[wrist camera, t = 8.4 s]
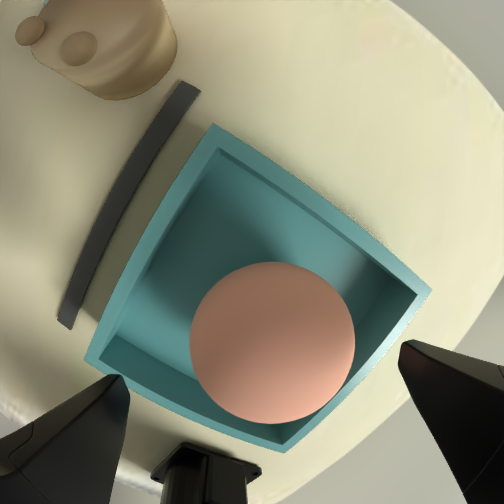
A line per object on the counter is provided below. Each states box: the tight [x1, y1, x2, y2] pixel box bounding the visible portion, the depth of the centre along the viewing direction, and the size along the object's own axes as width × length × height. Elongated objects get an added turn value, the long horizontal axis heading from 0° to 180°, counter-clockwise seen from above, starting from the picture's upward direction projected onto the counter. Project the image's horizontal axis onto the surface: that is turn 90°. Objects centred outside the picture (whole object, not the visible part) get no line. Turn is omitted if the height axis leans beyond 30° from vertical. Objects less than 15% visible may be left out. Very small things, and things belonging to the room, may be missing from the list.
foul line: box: [57, 81, 201, 330], centre depth 12 cm, size 14×1×1 cm, turn 146°
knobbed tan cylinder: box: [16, 0, 177, 100], centre depth 8 cm, size 5×5×6 cm
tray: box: [84, 123, 432, 453], centre depth 12 cm, size 11×11×3 cm
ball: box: [189, 262, 355, 424], centre depth 10 cm, size 6×6×6 cm
